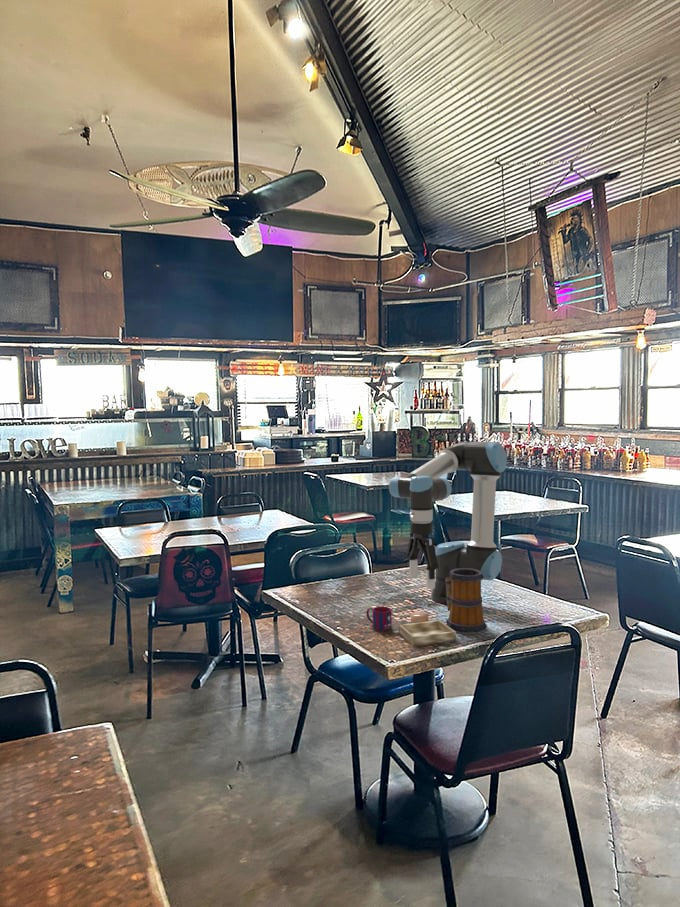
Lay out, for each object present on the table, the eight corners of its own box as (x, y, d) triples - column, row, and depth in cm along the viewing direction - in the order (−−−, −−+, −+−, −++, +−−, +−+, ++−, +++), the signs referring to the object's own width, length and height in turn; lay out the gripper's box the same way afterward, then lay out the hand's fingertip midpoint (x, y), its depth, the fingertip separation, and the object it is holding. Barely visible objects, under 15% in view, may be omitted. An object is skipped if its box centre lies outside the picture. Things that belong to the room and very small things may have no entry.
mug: (430, 620, 234) (430, 566, 233) (463, 614, 240) (463, 562, 238) (460, 636, 216) (460, 579, 215) (495, 630, 222) (495, 574, 221)
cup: (383, 632, 221) (382, 613, 221) (362, 626, 229) (362, 607, 228) (395, 627, 226) (395, 609, 226) (374, 621, 233) (374, 603, 233)
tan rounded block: (424, 620, 234) (424, 611, 233) (431, 626, 228) (431, 616, 227) (408, 622, 232) (407, 612, 232) (414, 628, 226) (414, 618, 225)
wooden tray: (439, 628, 225) (439, 620, 224) (456, 640, 213) (456, 631, 212) (398, 633, 220) (398, 625, 220) (413, 646, 208) (412, 637, 208)
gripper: (396, 516, 226) (397, 575, 227) (427, 528, 202) (427, 594, 203) (416, 515, 228) (416, 573, 229) (448, 526, 204) (448, 591, 206)
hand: (421, 583), depth 216 cm, fingers open, 13 cm apart
